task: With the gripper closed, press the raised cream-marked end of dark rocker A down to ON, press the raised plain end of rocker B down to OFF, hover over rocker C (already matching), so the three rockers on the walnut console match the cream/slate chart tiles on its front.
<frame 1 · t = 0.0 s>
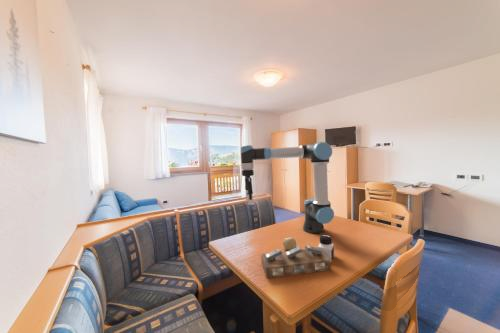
hand: (249, 202, 128), 28 cm above the table, fingers open, 13 cm apart
console: (294, 266, 101), on the table
apple: (289, 249, 120), on the table
medicine bottle: (326, 258, 108), on the table, touching console
rocker C: (273, 254, 99), point 8 cm above the table, hinge at 20.0°
rocker B: (293, 251, 100), point 8 cm above the table, hinge at 20.0°
rocker A: (313, 249, 102), point 8 cm above the table, hinge at -20.0°
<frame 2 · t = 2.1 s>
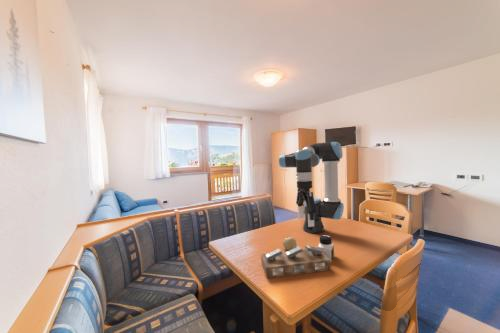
hand: (305, 222, 101), 23 cm above the table, fingers open, 12 cm apart
nothing on the table moved.
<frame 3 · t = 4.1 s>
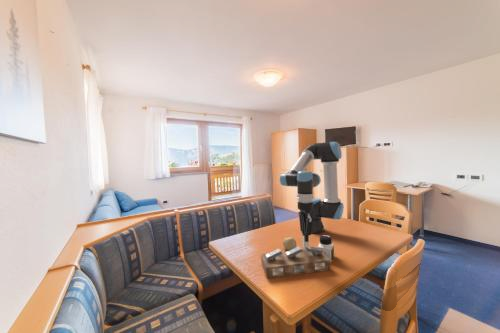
hand: (305, 246, 101), 10 cm above the table, fingers closed
rocker A: (313, 249, 102), point 8 cm above the table, hinge at -15.8°, touching gripper
everything else where it was.
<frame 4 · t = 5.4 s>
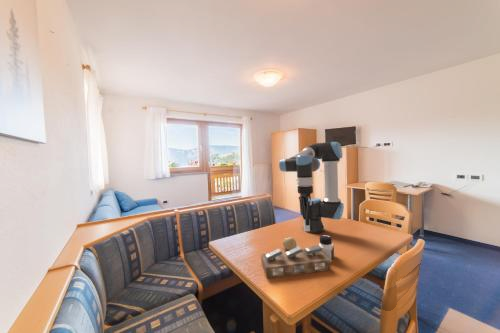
hand: (306, 230, 101), 18 cm above the table, fingers closed
rocker A: (313, 249, 102), point 8 cm above the table, hinge at 7.9°
everything else where it was.
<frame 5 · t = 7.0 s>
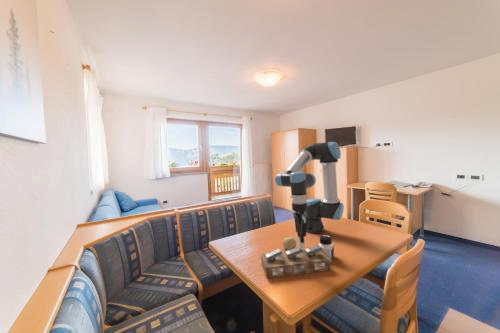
hand: (301, 247, 101), 9 cm above the table, fingers closed
rocker B: (293, 251, 100), point 8 cm above the table, hinge at 14.3°, touching gripper
rocker A: (313, 249, 102), point 8 cm above the table, hinge at 13.7°
everything else where it was.
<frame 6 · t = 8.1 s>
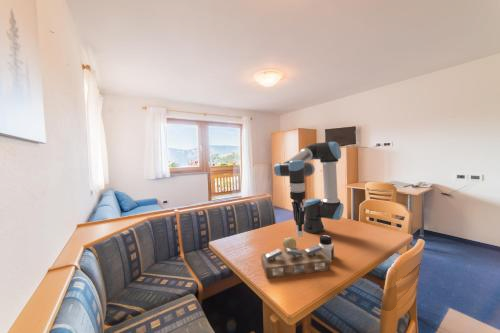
hand: (299, 236, 101), 15 cm above the table, fingers closed
rocker B: (293, 251, 100), point 8 cm above the table, hinge at -13.4°
rocker A: (313, 249, 102), point 8 cm above the table, hinge at 14.7°
everything else where it was.
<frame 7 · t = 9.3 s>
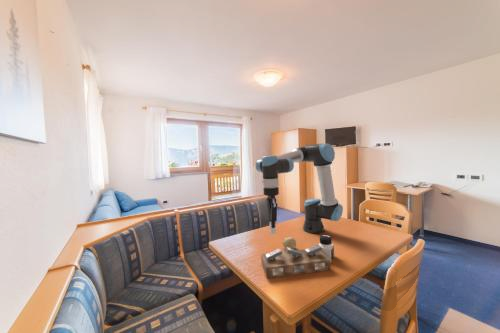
hand: (273, 233, 99), 18 cm above the table, fingers closed
rocker B: (293, 251, 100), point 8 cm above the table, hinge at -22.1°
rocker A: (313, 249, 102), point 8 cm above the table, hinge at 15.0°
everything else where it was.
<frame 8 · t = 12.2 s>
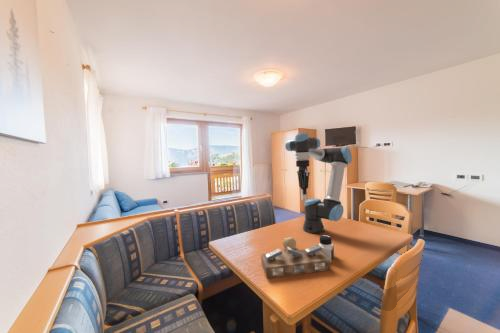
hand: (304, 199, 117), 30 cm above the table, fingers closed
rocker B: (293, 251, 100), point 8 cm above the table, hinge at -25.8°
everything else where it was.
at the end: rocker A at +15° (first picture: -20°); rocker B at -26° (first picture: +20°); rocker C at +20° (first picture: +20°) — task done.
